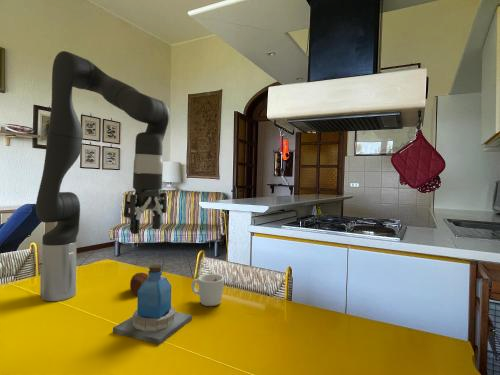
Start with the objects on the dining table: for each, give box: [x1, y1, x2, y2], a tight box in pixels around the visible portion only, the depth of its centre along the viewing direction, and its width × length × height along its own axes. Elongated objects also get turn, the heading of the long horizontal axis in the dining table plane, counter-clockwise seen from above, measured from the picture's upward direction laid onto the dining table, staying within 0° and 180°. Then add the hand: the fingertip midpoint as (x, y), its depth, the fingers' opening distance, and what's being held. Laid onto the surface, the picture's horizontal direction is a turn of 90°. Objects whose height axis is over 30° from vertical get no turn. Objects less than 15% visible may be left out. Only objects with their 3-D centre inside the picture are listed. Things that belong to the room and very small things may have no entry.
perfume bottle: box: [136, 264, 172, 318], centre depth 81 cm, size 6×6×12 cm
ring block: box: [112, 305, 193, 345], centre depth 81 cm, size 14×14×4 cm
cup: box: [191, 273, 225, 307], centre depth 97 cm, size 11×8×8 cm
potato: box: [129, 272, 149, 295], centre depth 105 cm, size 7×9×6 cm
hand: (145, 231), depth 85 cm, fingers open, 8 cm apart
